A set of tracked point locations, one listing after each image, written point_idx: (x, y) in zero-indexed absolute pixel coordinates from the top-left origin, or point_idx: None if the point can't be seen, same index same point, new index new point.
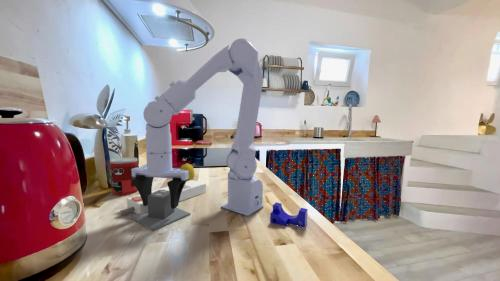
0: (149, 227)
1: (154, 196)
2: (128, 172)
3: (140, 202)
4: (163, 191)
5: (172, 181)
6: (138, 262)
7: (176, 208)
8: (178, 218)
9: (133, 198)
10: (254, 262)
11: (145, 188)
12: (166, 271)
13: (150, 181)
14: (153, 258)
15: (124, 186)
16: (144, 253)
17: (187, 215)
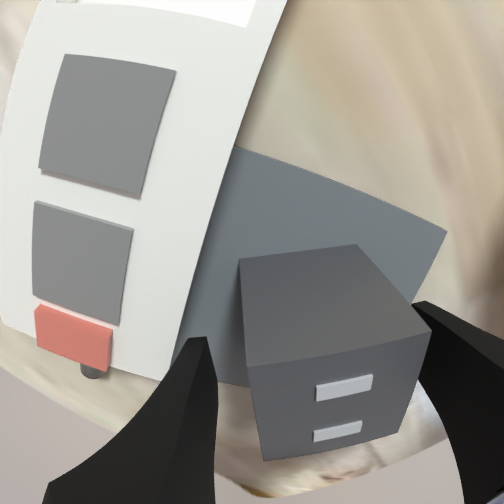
0: None
1: (323, 451)
2: None
3: (138, 362)
4: (340, 386)
5: (500, 494)
6: (380, 455)
7: (342, 195)
8: (411, 300)
9: (57, 351)
10: None
11: (207, 484)
12: (438, 438)
13: (184, 497)
14: (405, 439)
15: None
16: (378, 443)
17: (436, 247)
